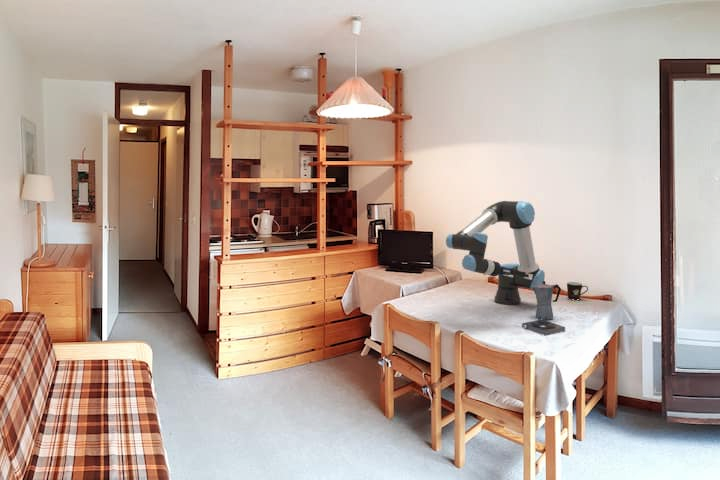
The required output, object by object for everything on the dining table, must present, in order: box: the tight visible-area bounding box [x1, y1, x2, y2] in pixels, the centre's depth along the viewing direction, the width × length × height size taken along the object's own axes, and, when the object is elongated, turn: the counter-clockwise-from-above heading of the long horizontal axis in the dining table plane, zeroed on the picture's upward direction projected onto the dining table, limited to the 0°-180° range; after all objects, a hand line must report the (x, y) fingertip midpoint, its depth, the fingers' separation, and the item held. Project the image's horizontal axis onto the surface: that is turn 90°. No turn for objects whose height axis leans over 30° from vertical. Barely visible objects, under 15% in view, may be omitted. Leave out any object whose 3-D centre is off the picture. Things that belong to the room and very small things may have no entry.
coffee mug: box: [566, 281, 589, 300], centre depth 285 cm, size 12×9×10 cm
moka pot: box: [531, 280, 562, 321], centre depth 246 cm, size 10×15×20 cm, turn 95°
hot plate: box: [521, 319, 566, 336], centre depth 228 cm, size 15×14×2 cm
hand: (522, 276), depth 242 cm, fingers open, 13 cm apart
